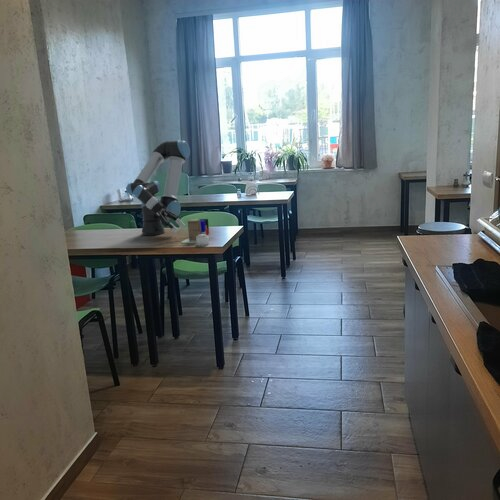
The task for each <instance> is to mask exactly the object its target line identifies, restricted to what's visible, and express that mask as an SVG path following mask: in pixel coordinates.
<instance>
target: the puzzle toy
mask: <svg viewBox="0 0 500 500" xmlns="http://www.w3.org/2000/svg"><path fill="white" fill-rule="evenodd" d="M195 219H196V218H193V219H192V220H195ZM199 219H200V222H201V234H206V235H208V236H209V234H210V228H209V227H210V225H209V218H199Z"/></svg>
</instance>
